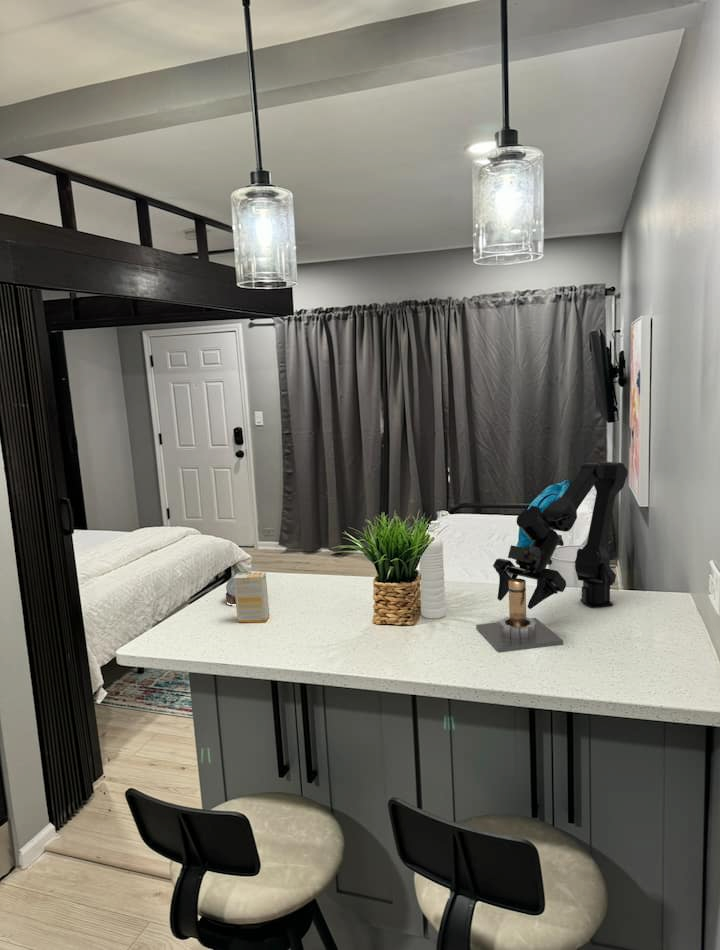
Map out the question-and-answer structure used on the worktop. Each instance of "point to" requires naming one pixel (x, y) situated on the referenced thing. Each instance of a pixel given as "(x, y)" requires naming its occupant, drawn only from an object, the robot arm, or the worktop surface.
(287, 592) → the worktop surface
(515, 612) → the copper cylindrical bottle
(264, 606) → the supplement box
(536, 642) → the plate
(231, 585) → the canned food
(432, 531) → the water bottle
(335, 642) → the worktop surface
